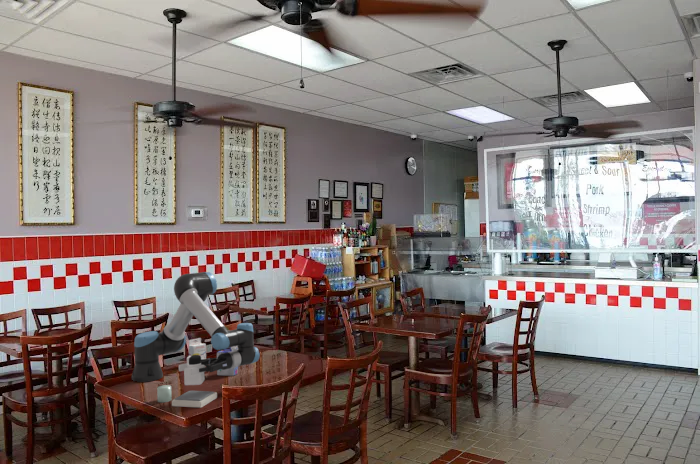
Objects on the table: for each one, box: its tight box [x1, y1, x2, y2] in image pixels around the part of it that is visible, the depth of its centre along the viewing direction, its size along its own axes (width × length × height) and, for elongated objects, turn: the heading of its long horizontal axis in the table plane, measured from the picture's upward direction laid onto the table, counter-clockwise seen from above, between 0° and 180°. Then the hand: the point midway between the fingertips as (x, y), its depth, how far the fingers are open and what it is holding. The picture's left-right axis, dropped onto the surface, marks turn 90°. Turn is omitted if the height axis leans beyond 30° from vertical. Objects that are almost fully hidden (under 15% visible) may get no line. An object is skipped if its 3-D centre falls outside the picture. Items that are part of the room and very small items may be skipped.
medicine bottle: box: [183, 355, 205, 386], centre depth 240 cm, size 7×7×12 cm
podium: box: [171, 390, 218, 409], centre depth 240 cm, size 14×14×3 cm
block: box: [156, 384, 173, 403], centre depth 244 cm, size 6×6×6 cm
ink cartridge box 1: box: [188, 337, 207, 360], centre depth 309 cm, size 9×5×15 cm, turn 141°
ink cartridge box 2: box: [216, 347, 239, 377], centre depth 286 cm, size 10×6×14 cm, turn 78°
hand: (185, 369), depth 237 cm, fingers closed on medicine bottle, 10 cm apart
